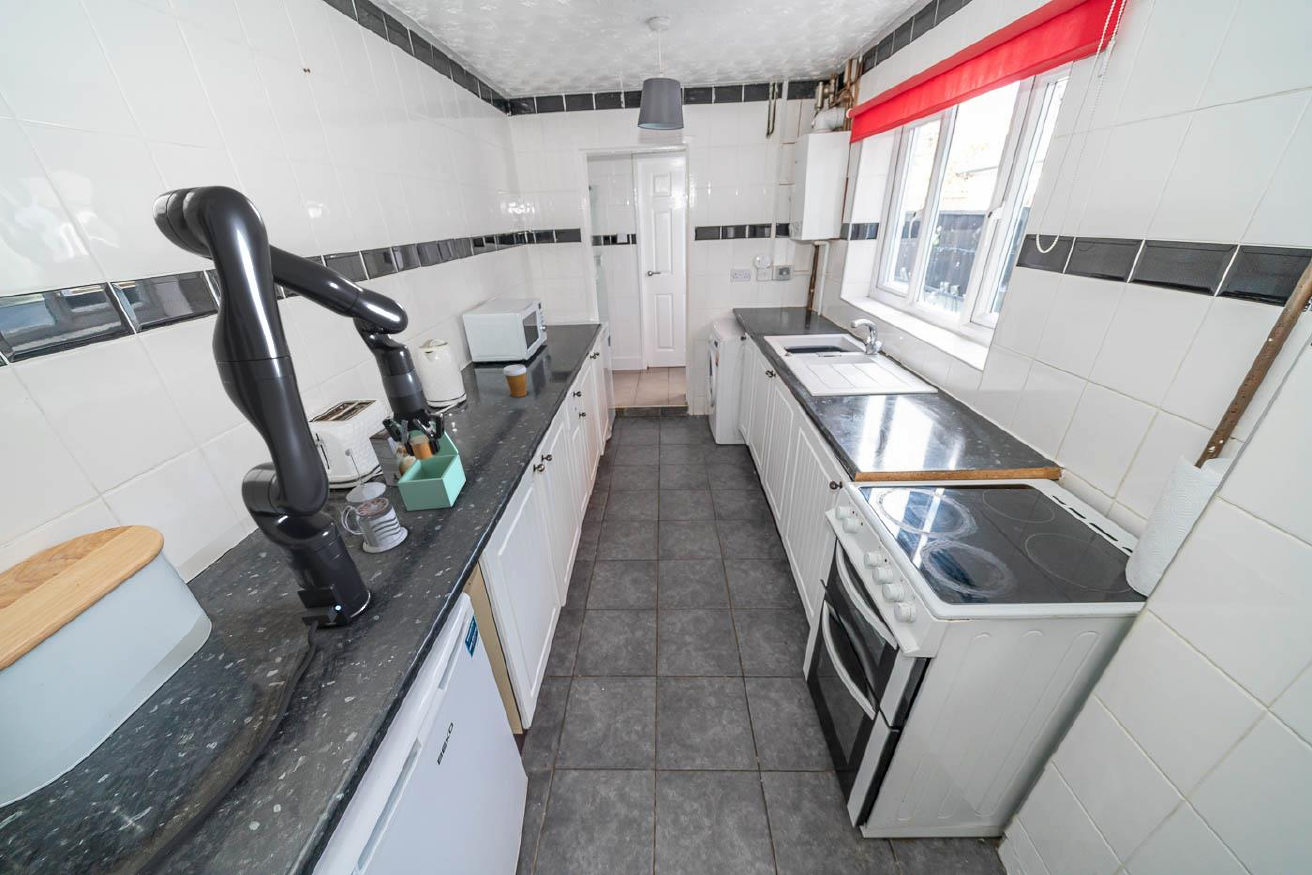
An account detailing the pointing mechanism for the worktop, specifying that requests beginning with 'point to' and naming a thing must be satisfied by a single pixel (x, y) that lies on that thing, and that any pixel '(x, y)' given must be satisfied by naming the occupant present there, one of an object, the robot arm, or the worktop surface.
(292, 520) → the robot arm
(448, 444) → the lid
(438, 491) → the mint green open box
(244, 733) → the worktop surface
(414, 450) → the cylinder
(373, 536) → the french press
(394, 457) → the coffee box
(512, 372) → the disposable coffee cup
